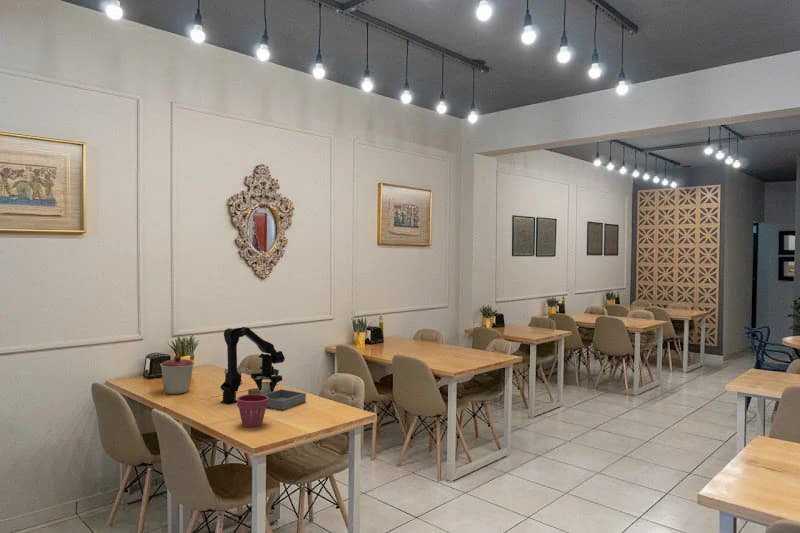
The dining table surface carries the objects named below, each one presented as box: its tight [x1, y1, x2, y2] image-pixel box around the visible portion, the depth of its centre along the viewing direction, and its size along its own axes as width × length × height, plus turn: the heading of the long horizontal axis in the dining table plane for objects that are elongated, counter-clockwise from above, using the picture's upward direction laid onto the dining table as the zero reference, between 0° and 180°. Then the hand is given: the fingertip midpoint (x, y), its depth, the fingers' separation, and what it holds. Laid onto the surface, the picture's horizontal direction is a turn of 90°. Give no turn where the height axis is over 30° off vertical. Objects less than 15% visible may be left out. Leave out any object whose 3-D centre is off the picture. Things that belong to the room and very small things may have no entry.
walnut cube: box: [247, 387, 262, 395], centre depth 303 cm, size 5×5×5 cm
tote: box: [264, 388, 307, 412], centre depth 293 cm, size 20×17×5 cm
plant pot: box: [236, 394, 268, 428], centre depth 256 cm, size 14×14×13 cm
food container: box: [223, 365, 244, 378], centre depth 334 cm, size 12×6×10 cm, turn 143°
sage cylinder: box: [261, 381, 271, 395], centre depth 311 cm, size 5×5×7 cm
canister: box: [159, 355, 195, 395], centre depth 311 cm, size 18×18×21 cm
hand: (266, 391), depth 312 cm, fingers open, 8 cm apart
